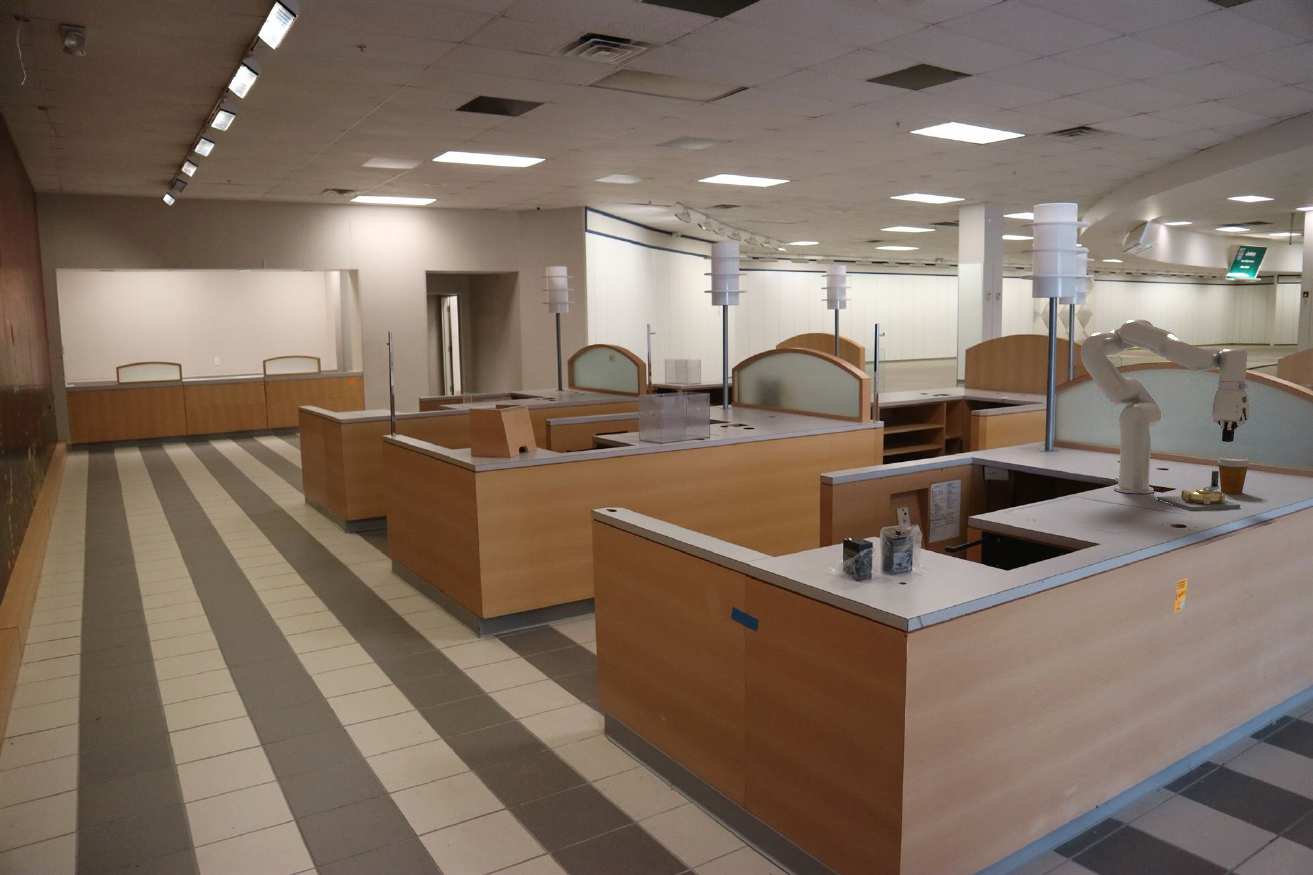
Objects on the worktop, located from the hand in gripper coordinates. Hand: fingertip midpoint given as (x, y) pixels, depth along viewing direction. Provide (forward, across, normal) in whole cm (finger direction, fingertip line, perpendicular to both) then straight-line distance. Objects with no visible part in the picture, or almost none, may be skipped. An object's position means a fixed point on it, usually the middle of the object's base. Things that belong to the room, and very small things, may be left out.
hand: (1227, 441), depth 297 cm
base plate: (+21, +1, +11) cm, 23 cm away
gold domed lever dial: (+19, +1, +7) cm, 21 cm away
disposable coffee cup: (+21, +10, -16) cm, 28 cm away
